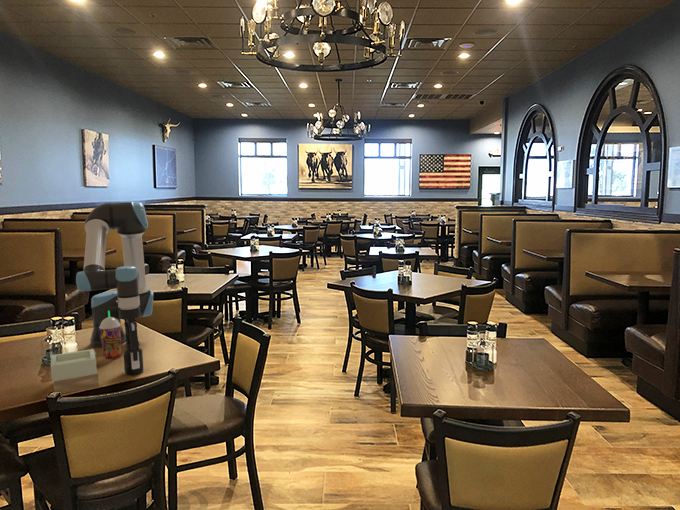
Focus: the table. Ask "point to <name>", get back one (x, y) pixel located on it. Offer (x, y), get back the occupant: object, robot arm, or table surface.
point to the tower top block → (73, 365)
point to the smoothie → (110, 337)
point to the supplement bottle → (127, 361)
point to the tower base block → (76, 383)
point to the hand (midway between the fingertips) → (133, 364)
